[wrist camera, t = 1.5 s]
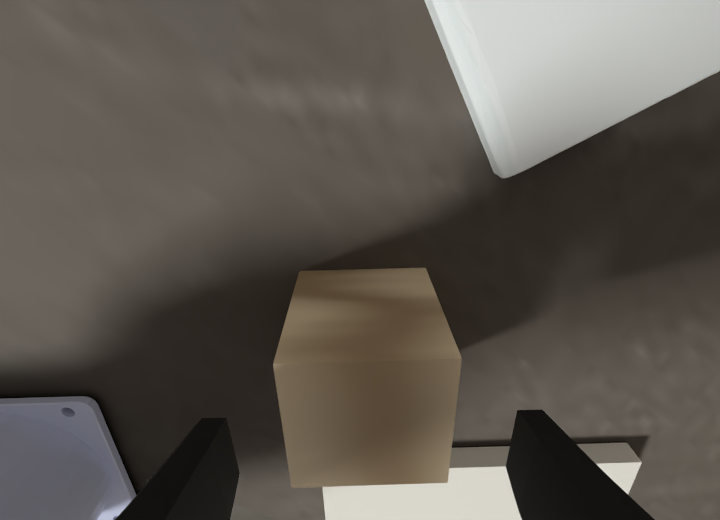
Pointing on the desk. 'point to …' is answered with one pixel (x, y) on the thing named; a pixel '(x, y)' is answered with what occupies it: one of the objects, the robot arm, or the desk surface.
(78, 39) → the desk surface
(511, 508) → the board
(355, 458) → the oak block
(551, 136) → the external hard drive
